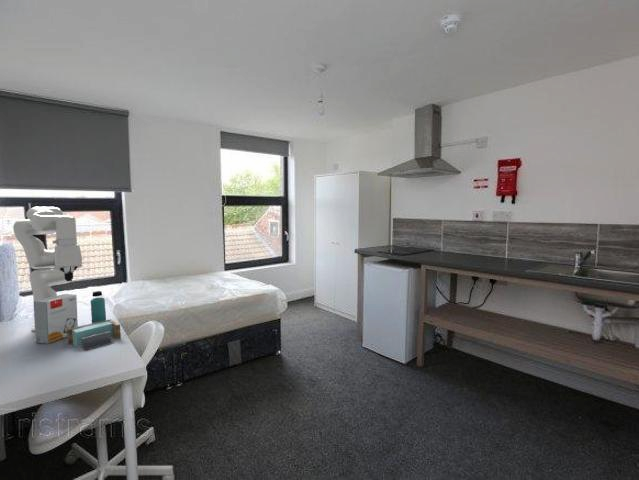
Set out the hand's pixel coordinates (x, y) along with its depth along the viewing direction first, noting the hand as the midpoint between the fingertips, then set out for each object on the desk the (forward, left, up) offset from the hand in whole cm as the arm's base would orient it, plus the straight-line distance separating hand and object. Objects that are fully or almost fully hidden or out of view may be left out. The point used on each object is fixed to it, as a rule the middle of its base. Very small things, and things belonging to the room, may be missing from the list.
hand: (69, 280), depth 153 cm
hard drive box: (-9, -4, -29) cm, 31 cm away
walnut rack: (+10, +6, -29) cm, 31 cm away
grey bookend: (+17, +6, -29) cm, 34 cm away
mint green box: (+9, +6, -29) cm, 31 cm away
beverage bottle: (-7, +13, -29) cm, 33 cm away
